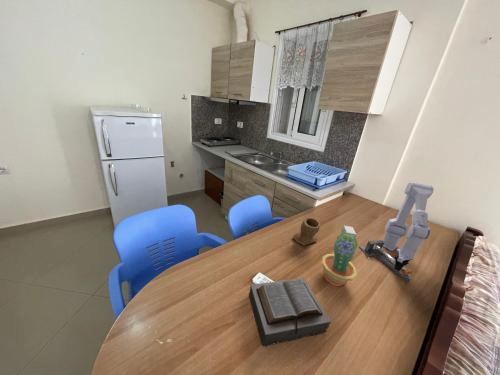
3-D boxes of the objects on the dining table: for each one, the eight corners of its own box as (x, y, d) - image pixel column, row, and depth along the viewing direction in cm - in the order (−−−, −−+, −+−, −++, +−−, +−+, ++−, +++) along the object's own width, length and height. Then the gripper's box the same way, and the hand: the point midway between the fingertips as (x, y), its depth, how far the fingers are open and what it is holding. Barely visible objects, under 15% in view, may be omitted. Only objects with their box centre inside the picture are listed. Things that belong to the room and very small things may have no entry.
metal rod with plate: (378, 247, 117) (380, 244, 116) (411, 274, 100) (413, 270, 99) (370, 248, 116) (372, 244, 115) (402, 275, 98) (404, 271, 97)
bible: (331, 349, 67) (340, 330, 63) (251, 348, 64) (255, 328, 60) (308, 288, 88) (314, 272, 84) (247, 285, 85) (251, 268, 81)
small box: (350, 249, 117) (356, 234, 113) (340, 247, 118) (346, 232, 114) (347, 241, 125) (353, 227, 121) (338, 239, 125) (343, 224, 121)
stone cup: (304, 250, 111) (311, 227, 105) (290, 237, 120) (295, 216, 114) (322, 243, 119) (329, 222, 113) (307, 232, 128) (313, 211, 122)
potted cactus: (310, 269, 98) (324, 227, 89) (334, 263, 105) (349, 222, 95) (334, 296, 86) (353, 250, 76) (358, 287, 92) (379, 243, 82)
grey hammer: (374, 246, 123) (379, 236, 121) (416, 281, 100) (423, 271, 97) (358, 247, 120) (363, 238, 117) (398, 284, 97) (404, 273, 94)
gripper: (406, 237, 105) (395, 258, 110) (395, 246, 96) (384, 267, 102) (422, 246, 100) (410, 266, 105) (412, 255, 91) (400, 277, 97)
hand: (398, 267), depth 103 cm, fingers open, 4 cm apart
